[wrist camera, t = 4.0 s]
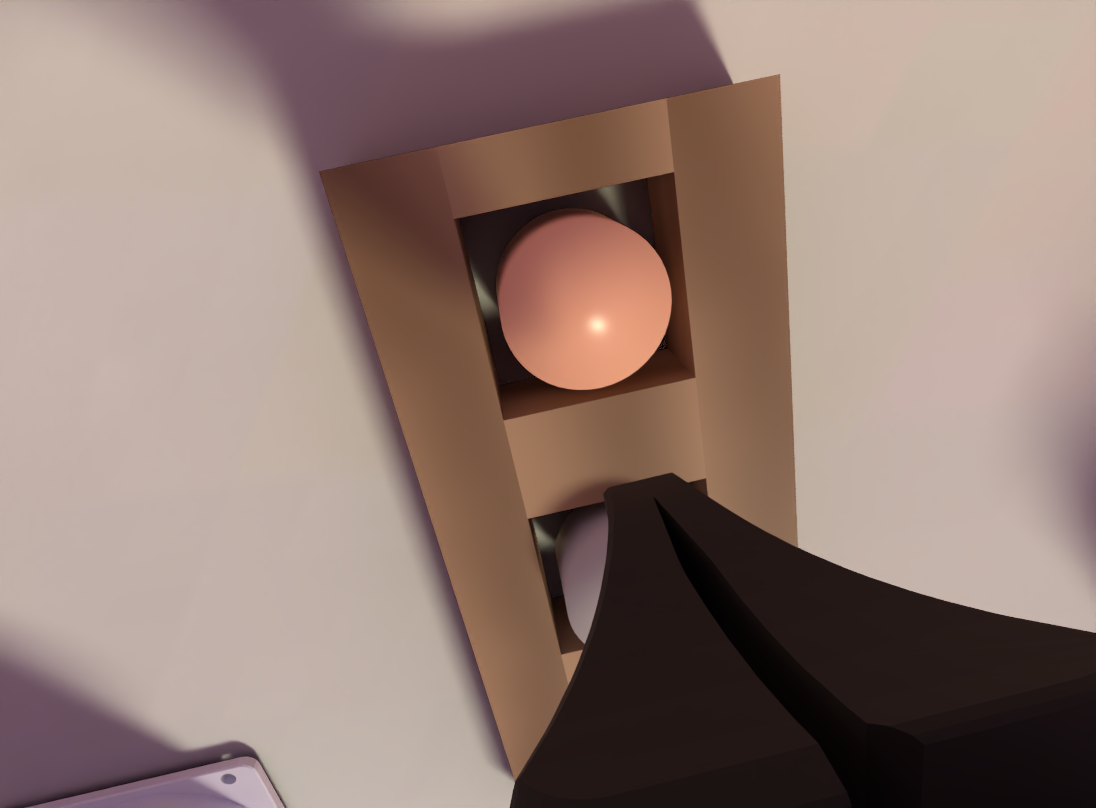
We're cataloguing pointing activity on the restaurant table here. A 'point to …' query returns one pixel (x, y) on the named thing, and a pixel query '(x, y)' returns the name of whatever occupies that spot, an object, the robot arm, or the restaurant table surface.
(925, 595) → the robot arm
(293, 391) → the restaurant table surface
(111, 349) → the restaurant table surface
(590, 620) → the grey button
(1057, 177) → the restaurant table surface
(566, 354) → the terracotta button
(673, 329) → the panel
